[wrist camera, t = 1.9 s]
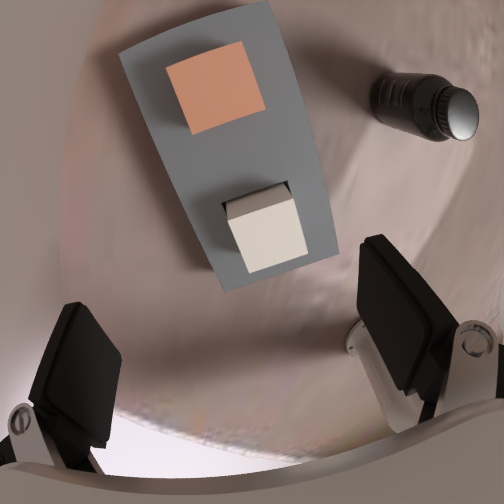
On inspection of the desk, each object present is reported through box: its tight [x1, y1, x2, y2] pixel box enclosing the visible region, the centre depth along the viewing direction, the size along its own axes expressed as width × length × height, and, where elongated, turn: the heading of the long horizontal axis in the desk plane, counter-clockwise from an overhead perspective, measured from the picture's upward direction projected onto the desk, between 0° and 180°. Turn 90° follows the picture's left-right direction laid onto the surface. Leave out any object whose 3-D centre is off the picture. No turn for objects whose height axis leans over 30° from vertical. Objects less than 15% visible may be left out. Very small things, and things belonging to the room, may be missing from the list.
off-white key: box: [226, 182, 308, 273], centre depth 29 cm, size 6×6×5 cm
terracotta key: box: [166, 41, 266, 135], centre depth 21 cm, size 6×6×5 cm
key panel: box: [118, 0, 339, 292], centre depth 28 cm, size 14×28×4 cm, turn 18°
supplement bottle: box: [370, 73, 479, 142], centre depth 22 cm, size 7×7×12 cm
